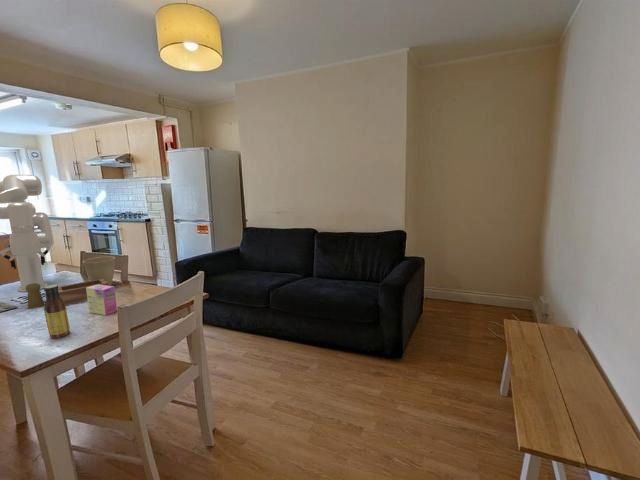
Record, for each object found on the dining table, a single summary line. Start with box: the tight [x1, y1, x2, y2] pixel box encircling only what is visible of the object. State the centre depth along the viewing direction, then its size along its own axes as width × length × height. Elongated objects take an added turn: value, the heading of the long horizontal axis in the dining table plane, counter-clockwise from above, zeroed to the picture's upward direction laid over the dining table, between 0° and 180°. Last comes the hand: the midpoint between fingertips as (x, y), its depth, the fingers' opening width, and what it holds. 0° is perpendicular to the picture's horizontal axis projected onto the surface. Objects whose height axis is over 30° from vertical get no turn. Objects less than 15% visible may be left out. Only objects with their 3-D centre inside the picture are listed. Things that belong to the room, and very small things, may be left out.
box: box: [86, 284, 118, 316], centre depth 142 cm, size 10×6×12 cm, turn 71°
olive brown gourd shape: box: [26, 283, 45, 310], centre depth 150 cm, size 6×6×11 cm
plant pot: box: [82, 255, 116, 286], centre depth 178 cm, size 15×15×16 cm
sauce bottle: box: [43, 284, 71, 339], centre depth 119 cm, size 7×6×20 cm
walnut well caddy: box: [58, 279, 108, 307], centre depth 160 cm, size 12×20×7 cm, turn 135°
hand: (29, 266), depth 147 cm, fingers open, 9 cm apart
